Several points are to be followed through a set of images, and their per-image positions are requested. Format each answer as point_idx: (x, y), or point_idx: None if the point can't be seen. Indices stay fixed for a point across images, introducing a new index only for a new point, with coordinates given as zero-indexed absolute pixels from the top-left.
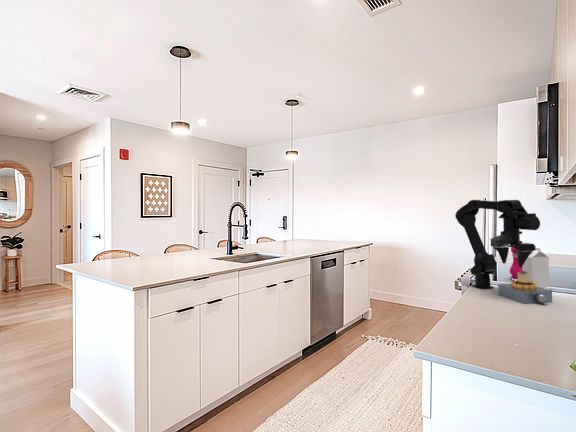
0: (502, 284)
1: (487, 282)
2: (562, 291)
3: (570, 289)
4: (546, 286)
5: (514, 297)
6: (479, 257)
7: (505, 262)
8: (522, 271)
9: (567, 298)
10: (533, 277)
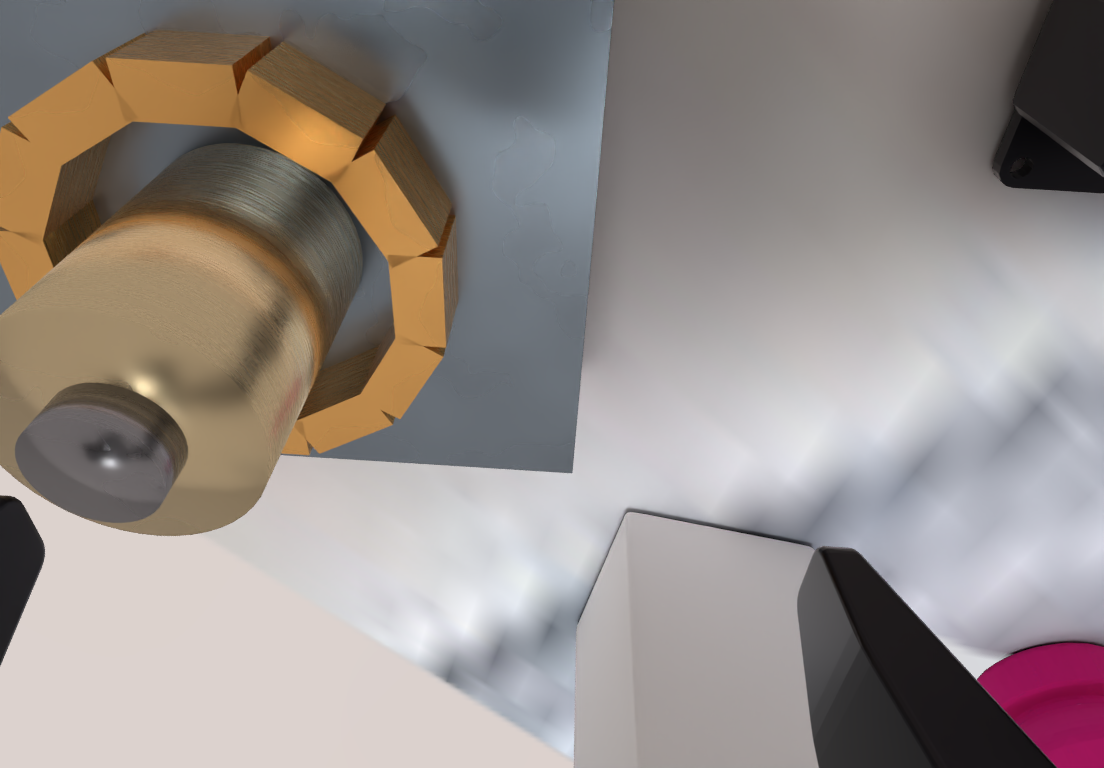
0: (565, 30)
1: (1091, 68)
2: (520, 676)
3: (561, 748)
4: (582, 649)
5: None
6: None
7: (804, 624)
8: (37, 426)
9: (273, 554)
10: (626, 671)
